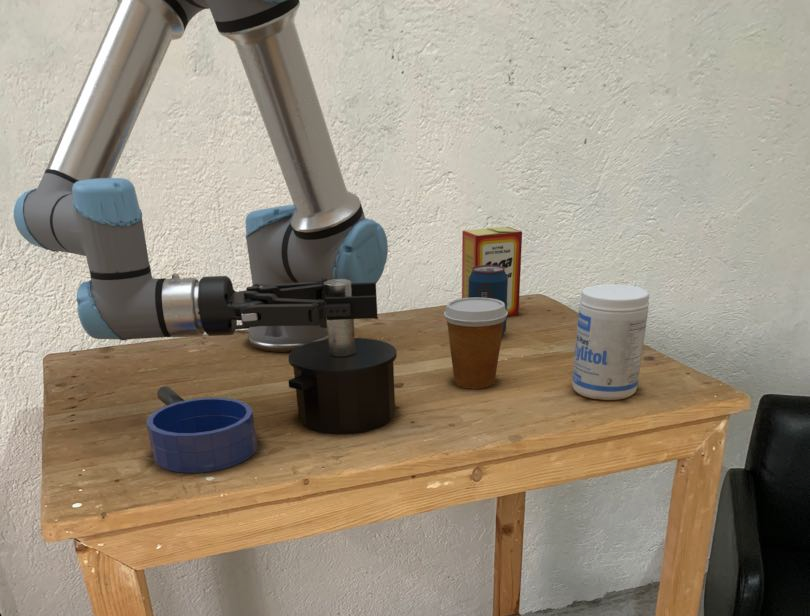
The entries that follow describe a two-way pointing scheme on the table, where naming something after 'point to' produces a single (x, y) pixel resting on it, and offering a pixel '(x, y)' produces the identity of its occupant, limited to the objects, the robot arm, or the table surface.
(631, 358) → the supplement tub
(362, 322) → the table surface
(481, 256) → the baking soda box
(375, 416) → the pot
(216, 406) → the pan
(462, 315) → the disposable coffee cup
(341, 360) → the lid
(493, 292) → the soda can
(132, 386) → the table surface
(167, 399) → the pan handle
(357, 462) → the table surface
